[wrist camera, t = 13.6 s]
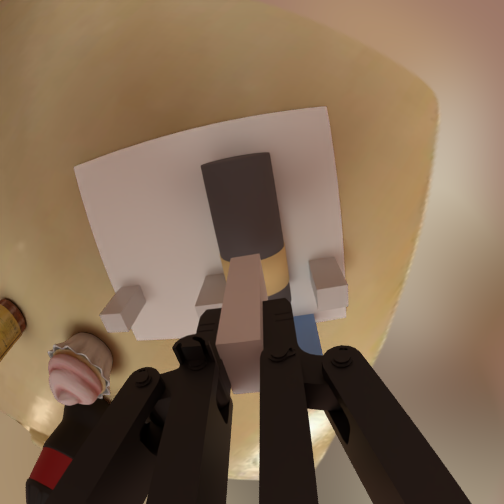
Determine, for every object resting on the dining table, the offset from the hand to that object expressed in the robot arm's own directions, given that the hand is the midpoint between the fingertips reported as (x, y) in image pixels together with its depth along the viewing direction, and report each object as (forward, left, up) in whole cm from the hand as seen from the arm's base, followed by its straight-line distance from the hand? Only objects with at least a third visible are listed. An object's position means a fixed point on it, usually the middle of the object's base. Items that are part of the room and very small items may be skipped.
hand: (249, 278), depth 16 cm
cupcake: (+13, -24, -11) cm, 30 cm away
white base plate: (+1, -4, -11) cm, 12 cm away
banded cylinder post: (0, 0, -10) cm, 10 cm away
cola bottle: (+25, -31, -11) cm, 42 cm away
